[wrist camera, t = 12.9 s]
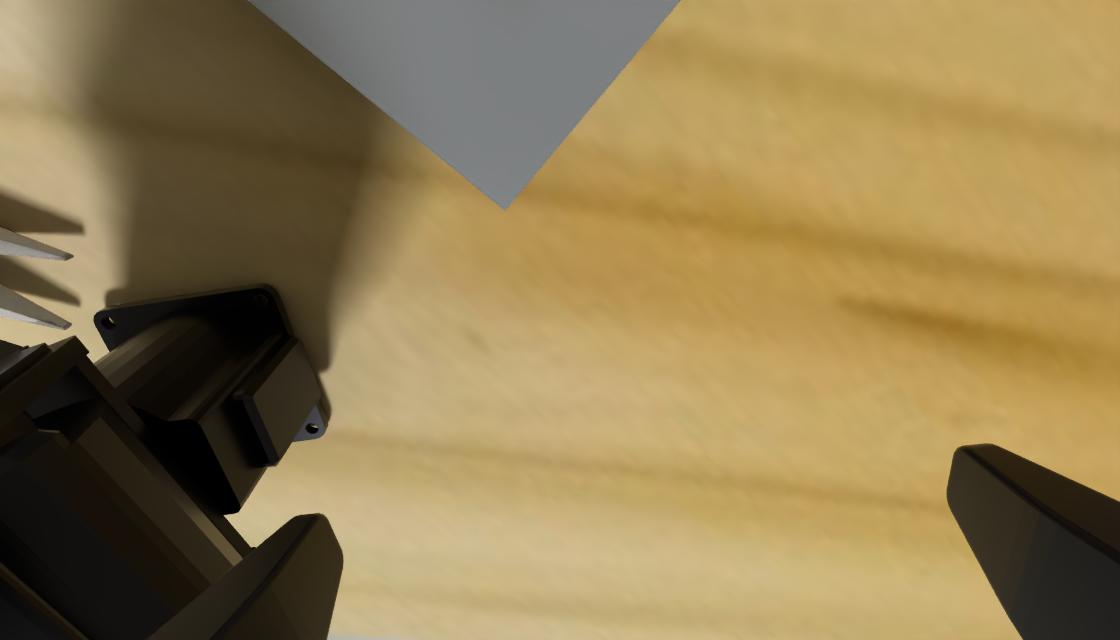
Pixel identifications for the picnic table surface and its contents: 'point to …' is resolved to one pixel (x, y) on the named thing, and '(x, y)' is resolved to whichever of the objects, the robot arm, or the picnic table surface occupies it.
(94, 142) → the picnic table surface
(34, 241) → the pliers
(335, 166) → the picnic table surface
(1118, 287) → the picnic table surface
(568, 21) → the slotted grey base
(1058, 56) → the picnic table surface
